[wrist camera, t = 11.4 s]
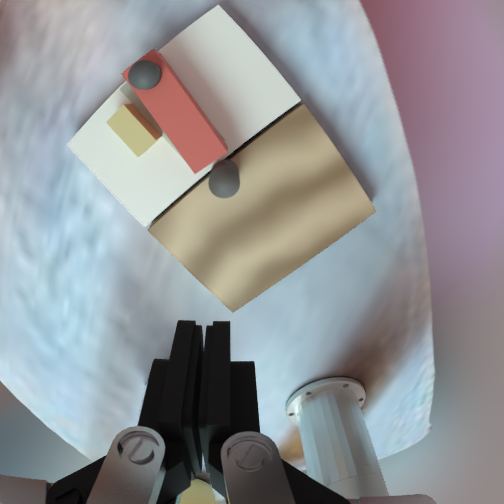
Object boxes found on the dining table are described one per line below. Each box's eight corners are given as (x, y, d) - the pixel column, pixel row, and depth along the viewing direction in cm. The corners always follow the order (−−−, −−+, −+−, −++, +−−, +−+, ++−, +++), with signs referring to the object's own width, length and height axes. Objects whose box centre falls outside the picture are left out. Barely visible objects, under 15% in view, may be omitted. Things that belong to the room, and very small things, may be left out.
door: (297, 99, 27) (308, 100, 23) (148, 220, 31) (137, 239, 27) (219, 9, 22) (217, -5, 18) (75, 141, 27) (53, 150, 23)
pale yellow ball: (154, 480, 59) (151, 519, 50) (180, 468, 55) (178, 512, 46) (195, 493, 63) (194, 529, 53) (224, 481, 59) (225, 522, 50)
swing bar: (227, 146, 26) (227, 155, 22) (198, 166, 27) (192, 178, 23) (160, 53, 22) (148, 46, 18) (131, 75, 23) (115, 72, 19)
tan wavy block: (369, 205, 32) (391, 225, 27) (232, 302, 36) (233, 334, 31) (295, 98, 26) (309, 99, 22) (147, 218, 31) (133, 242, 26)
